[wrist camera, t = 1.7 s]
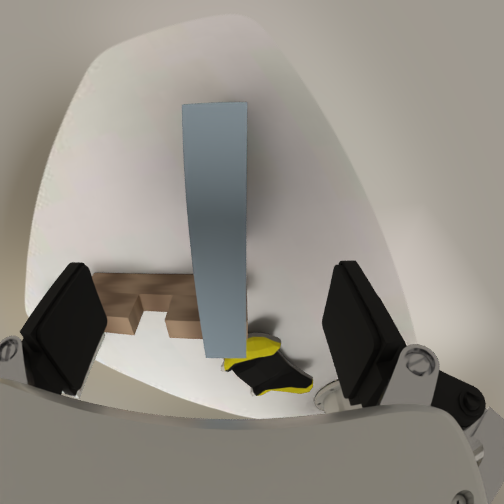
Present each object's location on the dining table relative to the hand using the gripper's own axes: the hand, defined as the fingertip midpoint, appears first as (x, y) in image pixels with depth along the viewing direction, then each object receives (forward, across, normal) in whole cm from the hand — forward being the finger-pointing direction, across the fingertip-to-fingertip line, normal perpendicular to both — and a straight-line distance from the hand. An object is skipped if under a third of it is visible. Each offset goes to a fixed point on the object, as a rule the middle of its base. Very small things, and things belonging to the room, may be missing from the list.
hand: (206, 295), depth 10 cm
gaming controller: (+19, -5, +27) cm, 33 cm away
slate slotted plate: (+19, 0, +1) cm, 19 cm away
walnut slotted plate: (+19, +8, +14) cm, 25 cm away
